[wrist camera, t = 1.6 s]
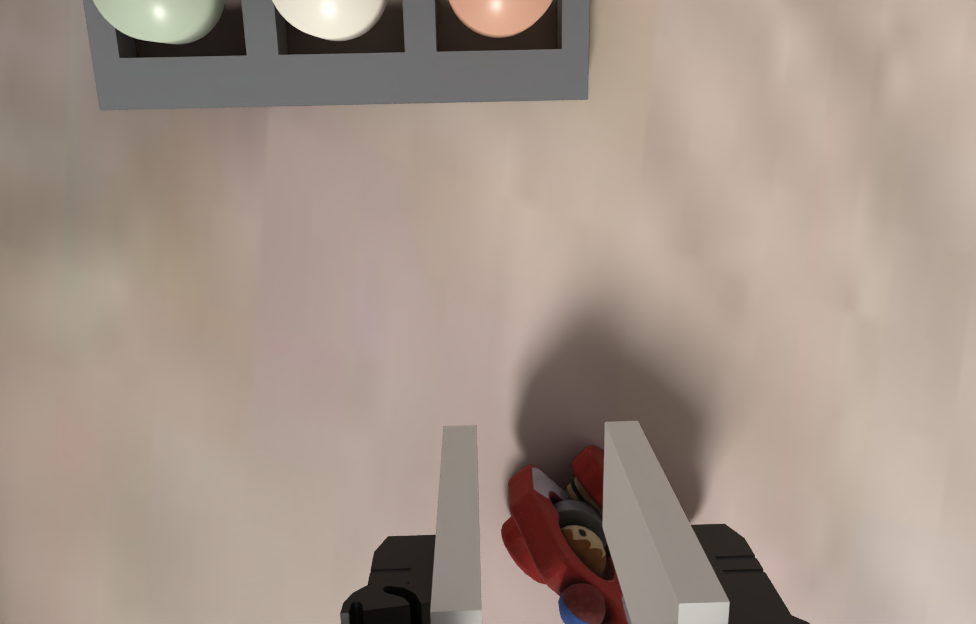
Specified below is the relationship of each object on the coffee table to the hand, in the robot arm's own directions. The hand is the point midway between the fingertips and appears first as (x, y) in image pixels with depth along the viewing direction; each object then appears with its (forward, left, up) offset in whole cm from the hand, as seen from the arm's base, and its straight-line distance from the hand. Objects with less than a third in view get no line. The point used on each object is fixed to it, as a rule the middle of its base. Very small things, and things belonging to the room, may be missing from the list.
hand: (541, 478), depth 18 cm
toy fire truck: (+5, -15, -23) cm, 28 cm away
